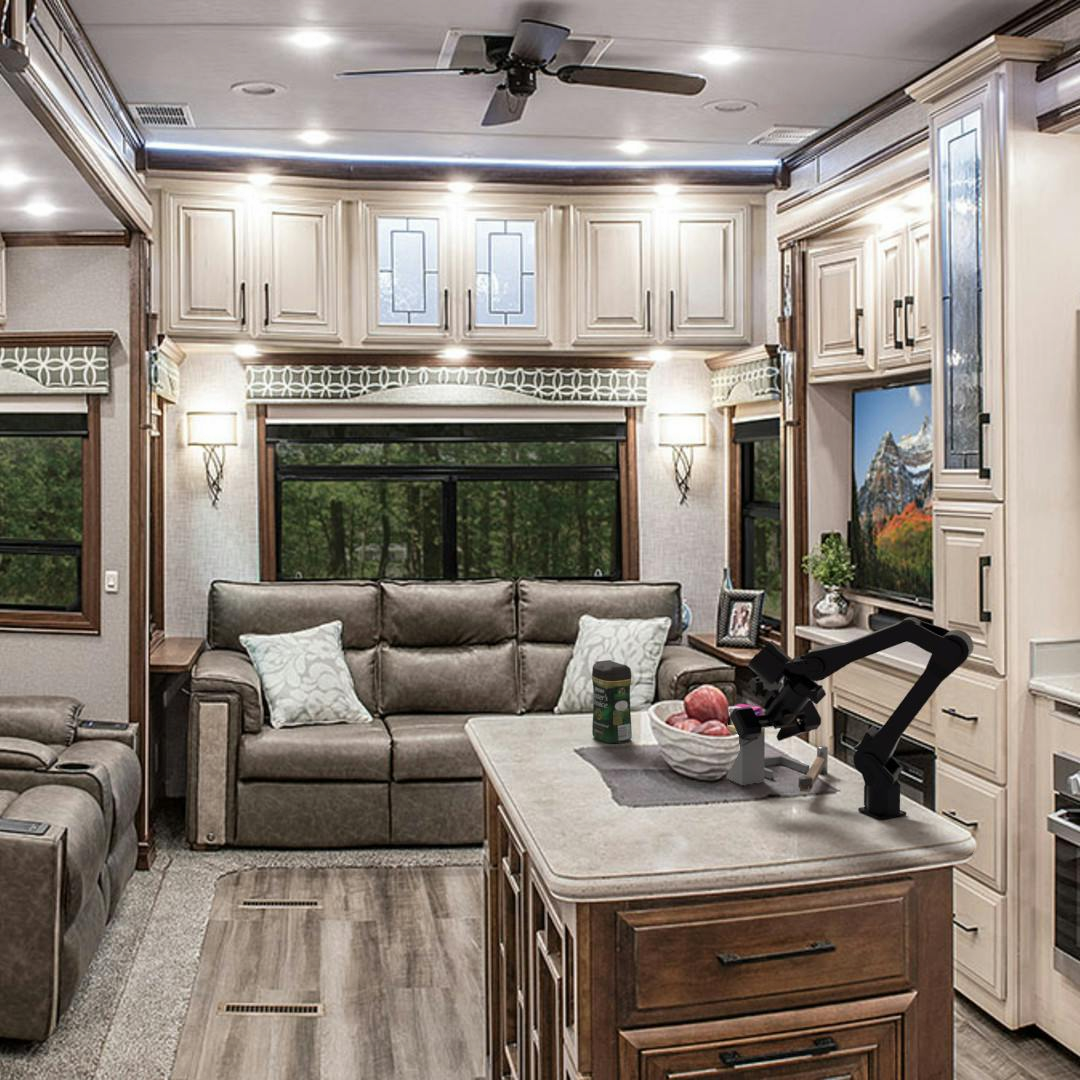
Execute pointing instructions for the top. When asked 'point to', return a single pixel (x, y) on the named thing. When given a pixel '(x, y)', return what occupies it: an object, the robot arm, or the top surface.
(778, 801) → the top surface
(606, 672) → the coffee jar
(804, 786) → the bar
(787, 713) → the robot arm
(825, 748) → the hinge post
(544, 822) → the top surface
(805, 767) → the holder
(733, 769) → the plug block
